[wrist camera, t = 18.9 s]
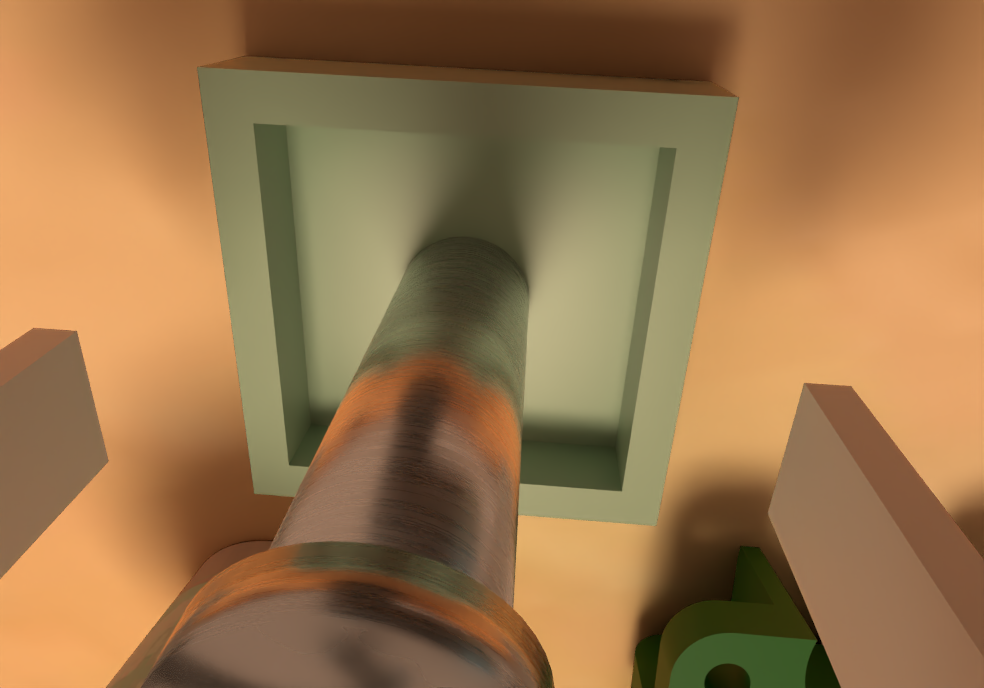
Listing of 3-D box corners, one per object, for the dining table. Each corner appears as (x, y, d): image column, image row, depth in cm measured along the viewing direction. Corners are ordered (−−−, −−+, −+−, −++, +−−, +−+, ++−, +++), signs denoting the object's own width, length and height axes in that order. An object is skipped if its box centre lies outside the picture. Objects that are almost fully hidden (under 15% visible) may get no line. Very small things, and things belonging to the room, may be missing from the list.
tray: (245, 55, 16) (197, 67, 14) (711, 81, 16) (739, 97, 13) (285, 439, 21) (254, 493, 18) (644, 466, 20) (656, 526, 18)
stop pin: (379, 210, 17) (87, 603, 6) (556, 222, 17) (577, 647, 6) (382, 365, 19) (164, 873, 8) (542, 378, 19) (538, 912, 8)
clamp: (884, 498, 26) (1199, 657, 17) (854, 644, 27) (1134, 857, 19) (587, 535, 21) (814, 769, 13) (570, 706, 23) (766, 1015, 14)
